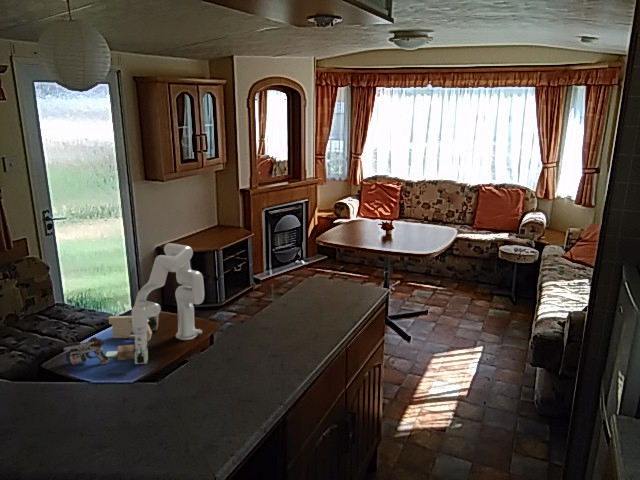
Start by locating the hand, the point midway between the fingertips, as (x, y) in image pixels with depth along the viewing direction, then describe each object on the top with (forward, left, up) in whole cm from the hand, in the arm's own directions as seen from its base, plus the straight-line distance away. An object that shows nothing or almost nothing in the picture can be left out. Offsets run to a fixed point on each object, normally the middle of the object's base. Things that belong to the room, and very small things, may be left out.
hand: (141, 359), depth 283 cm
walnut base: (+9, -7, -1) cm, 11 cm away
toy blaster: (+28, -1, -1) cm, 28 cm away
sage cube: (0, 0, -1) cm, 1 cm away
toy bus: (+1, -50, -1) cm, 50 cm away
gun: (+10, -31, -1) cm, 33 cm away
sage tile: (+17, -10, -1) cm, 20 cm away
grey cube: (+2, -13, -1) cm, 13 cm away
